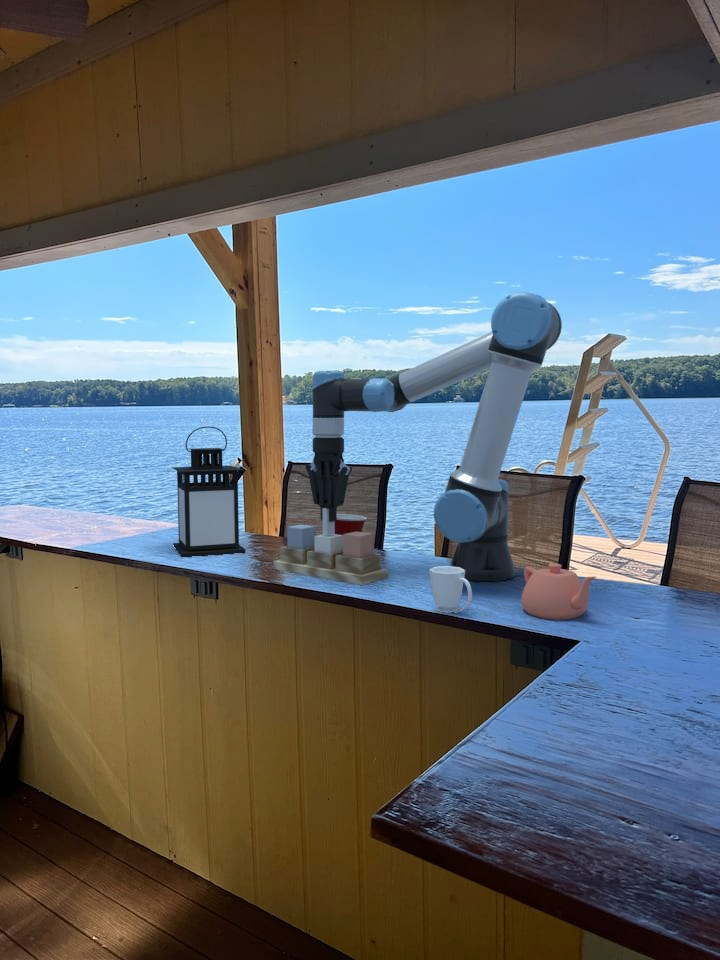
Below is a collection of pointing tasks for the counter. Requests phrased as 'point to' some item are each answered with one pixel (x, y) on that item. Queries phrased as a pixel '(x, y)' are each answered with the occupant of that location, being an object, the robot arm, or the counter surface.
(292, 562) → the beige slotted block
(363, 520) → the plastic cup
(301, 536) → the slate key
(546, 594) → the teapot
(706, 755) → the counter surface
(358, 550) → the terracotta key
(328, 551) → the ivory key
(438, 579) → the cup
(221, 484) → the lantern
